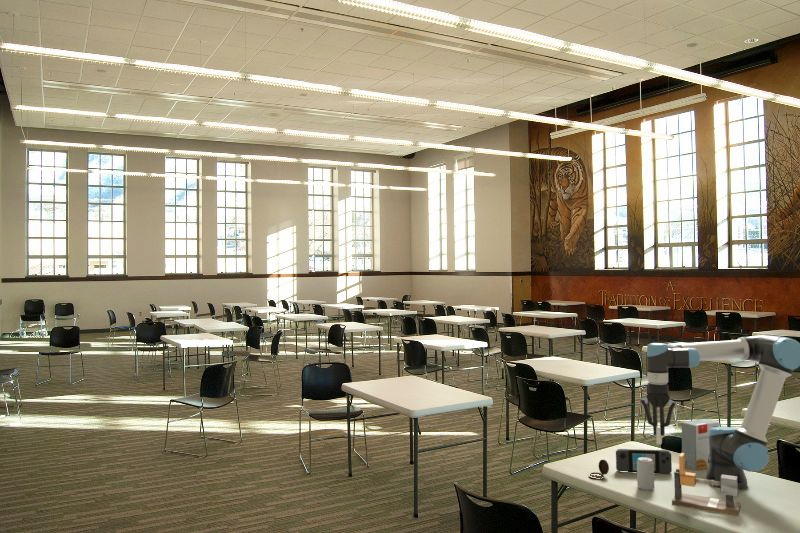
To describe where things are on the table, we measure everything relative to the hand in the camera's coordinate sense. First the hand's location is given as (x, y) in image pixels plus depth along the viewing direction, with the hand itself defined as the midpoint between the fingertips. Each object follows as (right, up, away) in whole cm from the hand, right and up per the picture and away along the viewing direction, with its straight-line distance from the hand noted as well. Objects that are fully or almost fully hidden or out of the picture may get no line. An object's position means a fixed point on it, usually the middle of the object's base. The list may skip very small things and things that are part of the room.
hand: (659, 443), depth 235 cm
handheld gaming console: (+6, -22, +30) cm, 38 cm away
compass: (-15, -23, +25) cm, 37 cm away
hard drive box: (+35, -21, +37) cm, 55 cm away
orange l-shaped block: (+9, -14, -6) cm, 17 cm away
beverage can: (-1, -22, +10) cm, 24 cm away
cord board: (+14, -21, -9) cm, 27 cm away
